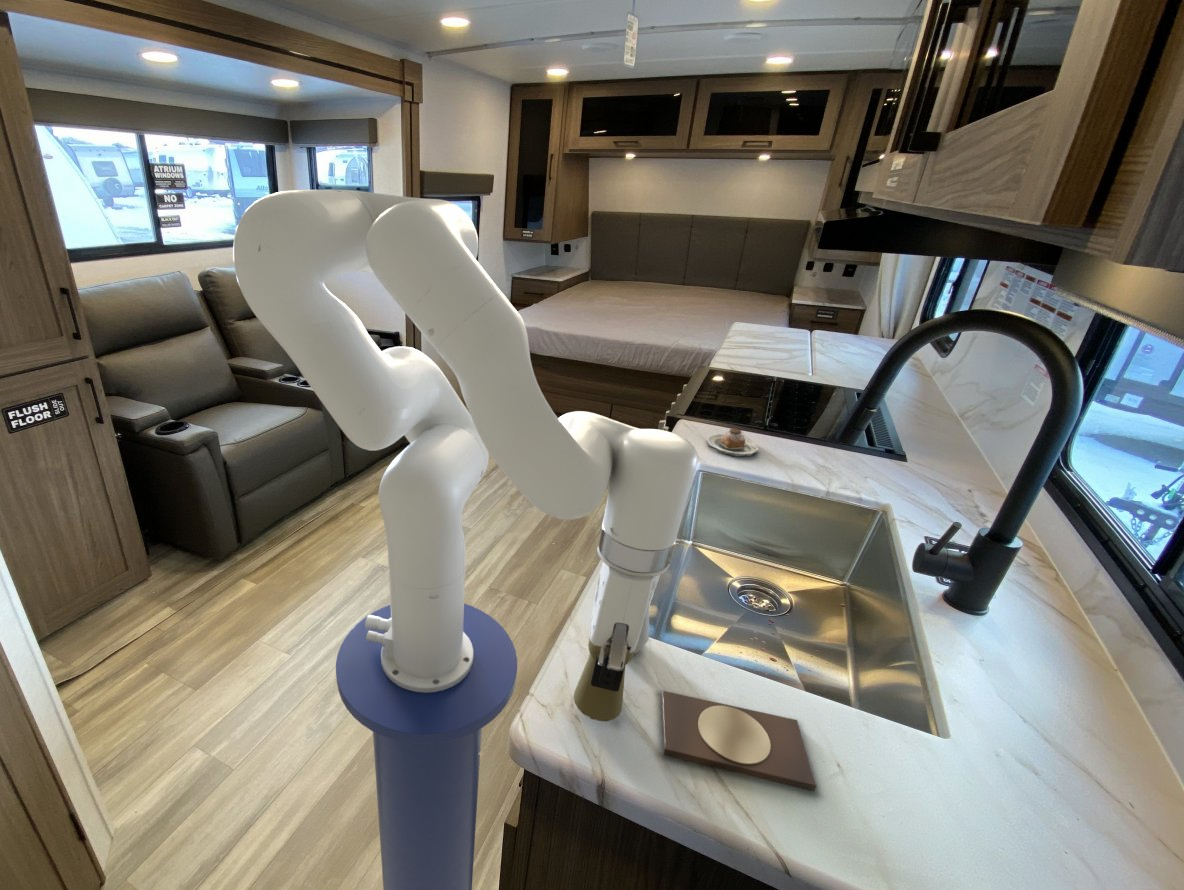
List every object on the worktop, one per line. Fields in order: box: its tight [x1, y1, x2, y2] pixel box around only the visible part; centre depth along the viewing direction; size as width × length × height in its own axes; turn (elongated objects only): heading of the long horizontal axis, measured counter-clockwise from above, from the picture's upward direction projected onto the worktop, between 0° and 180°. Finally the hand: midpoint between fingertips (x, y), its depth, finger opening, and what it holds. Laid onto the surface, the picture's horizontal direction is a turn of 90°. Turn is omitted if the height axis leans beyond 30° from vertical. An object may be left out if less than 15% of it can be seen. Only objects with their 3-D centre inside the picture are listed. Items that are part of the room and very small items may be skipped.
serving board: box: [660, 690, 818, 792], centre depth 68 cm, size 16×9×1 cm, turn 75°
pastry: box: [707, 428, 759, 457], centre depth 144 cm, size 12×12×5 cm
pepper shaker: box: [573, 636, 635, 722], centre depth 69 cm, size 6×6×11 cm
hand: (605, 667), depth 69 cm, fingers closed on pepper shaker, 5 cm apart
